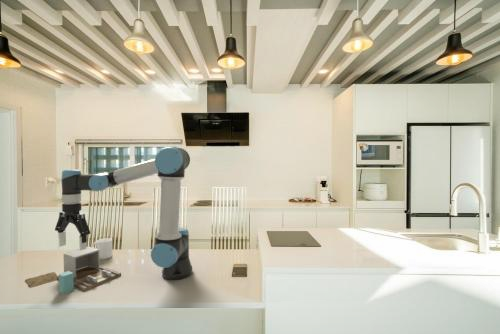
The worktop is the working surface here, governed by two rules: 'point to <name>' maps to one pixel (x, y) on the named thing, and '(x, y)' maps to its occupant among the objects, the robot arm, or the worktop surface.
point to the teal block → (66, 282)
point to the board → (93, 277)
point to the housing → (81, 259)
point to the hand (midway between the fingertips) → (72, 247)
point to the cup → (104, 247)
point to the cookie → (41, 279)
